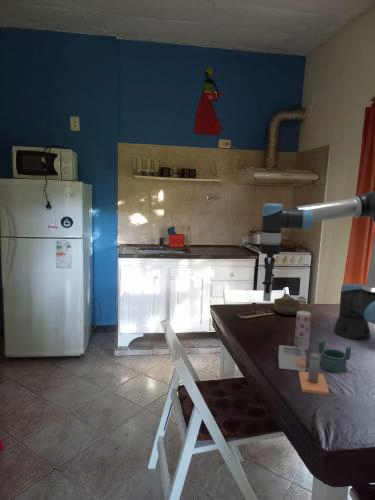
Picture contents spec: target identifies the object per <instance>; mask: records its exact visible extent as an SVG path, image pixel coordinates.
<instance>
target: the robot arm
mask: <svg viewBox="0 0 375 500" xmlns="http://www.w3.org/2000/svg"><path fill="white" fill-rule="evenodd" d="M261 213H262V214H261V234H259V237H260V238H261V239H260V242H261V243H260V250H259V251H260V253H261V254H263V255H266V256H264V260H263V262H264V269H265V270H264V271H265V272H264V281H262V283H261V284H262V285H263V294H262V295H263V297H262V301H263V302H271V298H272V297H271V296H272V292H273V291H272V290H273V289H272V288H273V277H275V274H274V272H273V270H274V267H275V262H276V258H275V257H274V256H275V255H280V254H281V243H282V229H301V230H304V229H305V230H306V229H311V227H312V226H313V224H314V223H315V222H321V221H328V220H335V219H341V218H349V217H352V218H355V219H357V218H371V219H372V223H373V225H375V190H373V191H368V192H364V193H362V194H356V195H351V197H349V198H347V199H346V198H345V199H338V200H331V201H325V202H319V203H311V204H306V205H305V204H304V205H298V206H291V207H284V205H283V203H270V202H269V203H264V204H263V206H262V212H261ZM369 259H370V261H369V266H368V271H367V276H366V283H365V284H363V283H362V284H361V283H345V284H342V285H341V287H340V288H341V290H340V300H339V313H338V317H337V319H336V321H335V323H334V325H333V333H335V334H336V335H337V336H340V337H342V338H344V339H349V340H357V341H360V340H361V341H363V340H368V339H370V338H371V329H370V325H369V323H370V324H373V325H375V235H374V237H373V243H372V249H371V255H370V258H369Z"/></svg>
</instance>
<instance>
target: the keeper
mask: <svg viewBox="0 0 375 500" xmlns="http://www.w3.org/2000/svg"><path fill="white" fill-rule="evenodd" d="M320 364H321V357H320V355H319V354H318V353H316V352H315V353H314V352H313V353H310V356H309V367H308V371H298V379H299V383H300V389H301V392H302V393H308V394H316V395H323V396H324V395H325V396H329V395H330V390H329V388H328V384H327V382H326V379H325V375H324V373H320Z"/></svg>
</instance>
